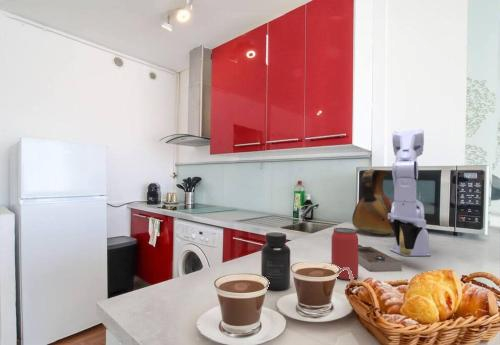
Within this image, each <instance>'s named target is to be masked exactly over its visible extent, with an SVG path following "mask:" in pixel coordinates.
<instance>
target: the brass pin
mask: <svg viewBox="0 0 500 345" xmlns="http://www.w3.org/2000/svg"><path fill="white" fill-rule="evenodd" d="M401 254H402V255H401ZM399 255H401V256H403V255H411V249H405V245H404V236H403V232H402V229H401V227H400V254H399Z"/></svg>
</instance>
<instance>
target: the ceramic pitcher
mask: <svg viewBox="0 0 500 345" xmlns="http://www.w3.org/2000/svg"><path fill="white" fill-rule="evenodd" d="M389 174H390V171H388V170H385V169H373V168H371V169H366V170H364V172H363V174H362V176H361V184H362V186H361V187H362V193H363V197H362V198H361V199H360V200H359V201H358V202H357V204H356V206H355V208H354V210H353V213H352V225H353V226H354V227H355V228H356V229H358V230H360V231H363V232H368V233H373V234H377V235H378V234H379V235H385V236H386V235H388V234H390V233H394V231H393V229H392V227H391V226H390V224H389V222H391V219H388V213H391V208H392V203H393V202H394V201H392V200H391V199H390V198H389V196H387V195H386V194H385V192H384V189H383V188H384V187H383V185H384V180H385V177H386V176H387V175H389Z"/></svg>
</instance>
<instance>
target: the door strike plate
mask: <svg viewBox="0 0 500 345" xmlns="http://www.w3.org/2000/svg"><path fill="white" fill-rule="evenodd" d="M358 265H360V266H362V268H364V269H366V270H367V271H369V272H402V271H403V270H402V266H403V265H402V261H400V260H398V259H396V258H394V257H392V256H390V255H388V254H387V253H384V252H382V251H380V250H379V249H376V248H374V247H372V246H363V245H361V244H358Z"/></svg>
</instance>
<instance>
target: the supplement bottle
mask: <svg viewBox="0 0 500 345" xmlns="http://www.w3.org/2000/svg"><path fill="white" fill-rule="evenodd" d="M287 241H288V240H287V234H286V233H283V232H277V231H276V232H267V233H266V234H265V244H264V245H263V246H262V248H261V253H260V254H261V255H260V256H261V257H260V258H261V259H260V260H261V262H260V264H261V266H260V267H261V269H260V271H261V272H260V275H262V276H264V277H266V278H267V279H268V280H269V282H270V284H269V287H268V289H267V290H270V291H273V292H274V291H277V292H278V291H279V292H280V291H284V290H287V289H289V288H290V286H291V248H290V247H289V246H288V244H287Z"/></svg>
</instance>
